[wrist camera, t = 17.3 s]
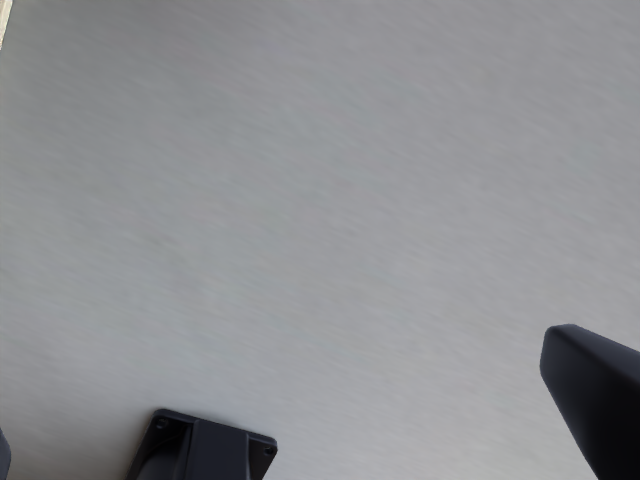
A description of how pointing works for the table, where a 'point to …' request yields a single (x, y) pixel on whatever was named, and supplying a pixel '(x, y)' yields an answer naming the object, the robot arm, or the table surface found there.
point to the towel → (4, 16)
